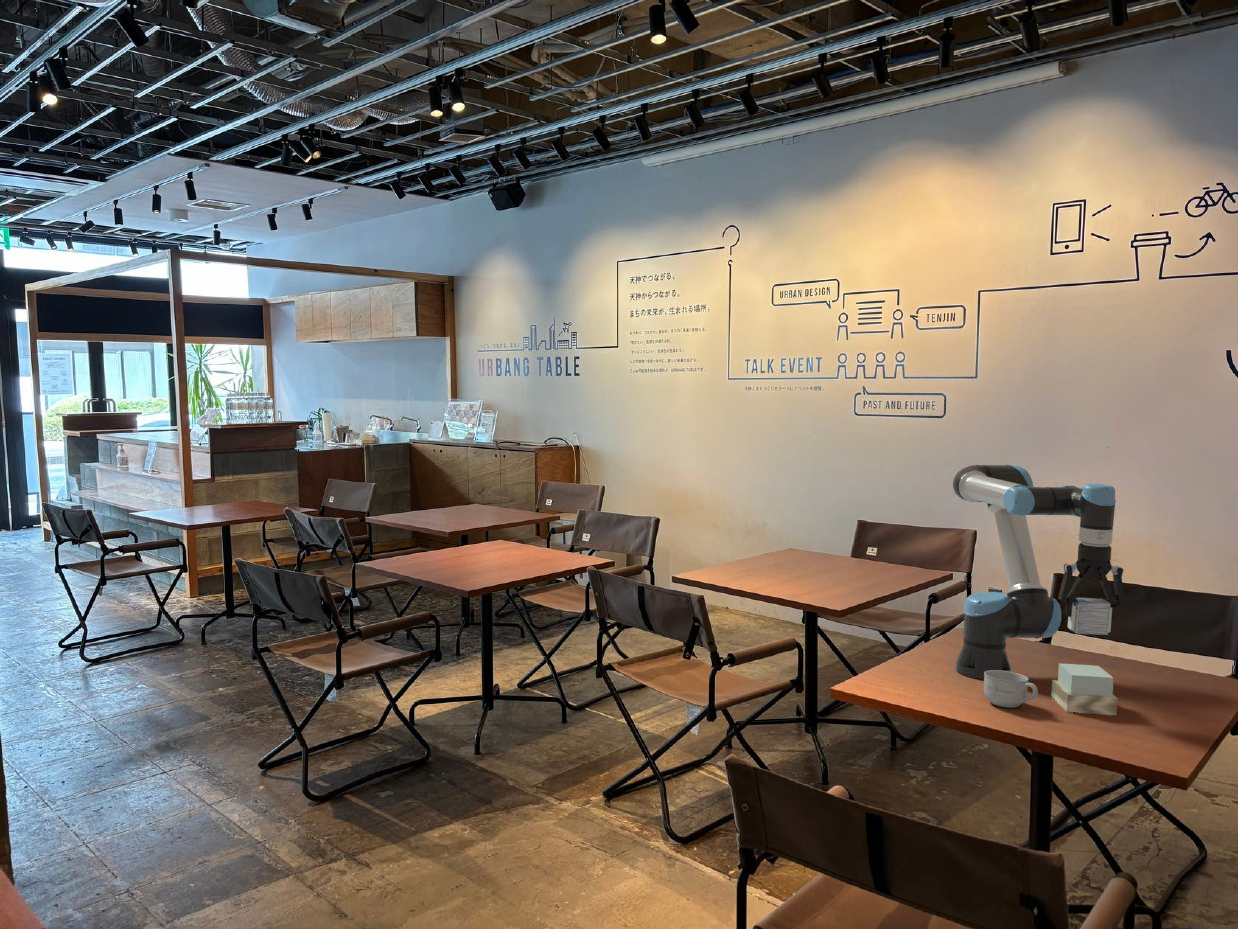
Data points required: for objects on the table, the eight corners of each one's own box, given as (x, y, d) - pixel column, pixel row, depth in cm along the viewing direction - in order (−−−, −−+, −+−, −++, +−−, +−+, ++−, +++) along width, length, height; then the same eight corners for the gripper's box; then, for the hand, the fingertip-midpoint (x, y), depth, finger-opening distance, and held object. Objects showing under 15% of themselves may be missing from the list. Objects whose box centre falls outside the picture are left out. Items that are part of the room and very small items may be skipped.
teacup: (973, 700, 233) (975, 670, 233) (1003, 695, 237) (1005, 666, 237) (1016, 718, 220) (1017, 687, 220) (1046, 712, 225) (1048, 682, 224)
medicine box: (1100, 630, 229) (1103, 598, 228) (1108, 635, 225) (1111, 602, 224) (1069, 629, 230) (1071, 597, 229) (1076, 634, 226) (1078, 601, 225)
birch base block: (1066, 713, 225) (1067, 694, 225) (1051, 697, 237) (1052, 679, 237) (1116, 717, 223) (1117, 698, 223) (1098, 700, 235) (1099, 682, 235)
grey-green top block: (1070, 694, 225) (1072, 675, 225) (1057, 681, 235) (1058, 663, 235) (1112, 696, 224) (1113, 677, 223) (1097, 684, 234) (1098, 665, 233)
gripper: (1056, 545, 223) (1051, 631, 225) (1145, 548, 220) (1138, 636, 222) (1047, 539, 230) (1041, 623, 233) (1132, 543, 227) (1125, 628, 229)
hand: (1088, 629), depth 227 cm, fingers closed on medicine box, 8 cm apart
